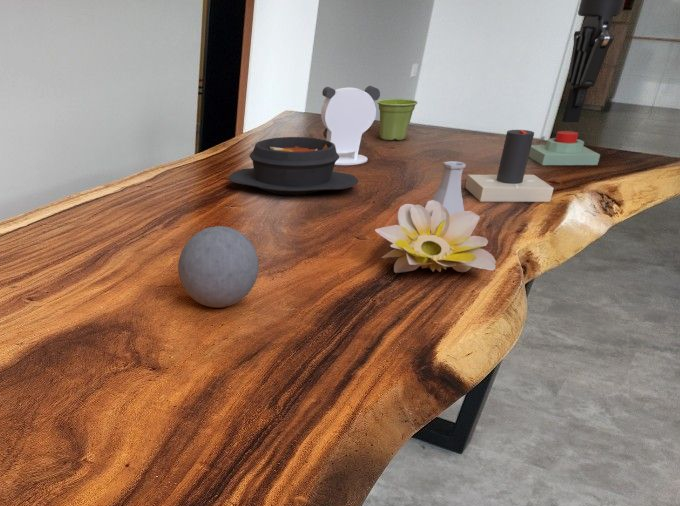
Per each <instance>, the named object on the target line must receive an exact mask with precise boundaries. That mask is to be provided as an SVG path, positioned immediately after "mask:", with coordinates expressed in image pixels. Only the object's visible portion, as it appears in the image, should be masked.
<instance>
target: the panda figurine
mask: <svg viewBox="0 0 680 506" xmlns="http://www.w3.org/2000/svg"><path fill="white" fill-rule="evenodd" d="M321 94H322V96H323V97H325V99H324V101H323V104H322V107H321V111H320V118H321V122H322V125H323V126H324V127H325V129H324V131H323V133H322V135H323V138H324V139H325V140H326V141H329V142H332V143H334V144H335V148H336V152H337V154H338V155H339V159H338V160H337V161H336V162H335V165H334V166H355V165H361V164H365V163H367V162H368V157H367V156H365V155H363V154H359V150H360V147H361V141H362V136H363V134H364V133H365V132H367V131H368V130H369V129H370V127H371V126H372V125H373V123H374V121H375V120H376V117H377V107H376V104H375V101H379V100H380V97H381V91H380V89H379V88H378V87H375V86H372V85H368V86H366V88H365V89H364V90H363V89H361V88H357V87H349V86H348V87H346V86H345V87H340V88H336V89H334V88H332V87H331V86H326V87H323V89H322V93H321Z"/></svg>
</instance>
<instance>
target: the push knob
mask: <svg viewBox="0 0 680 506" xmlns="http://www.w3.org/2000/svg"><path fill="white" fill-rule="evenodd" d="M578 137H579V132H577V131H571V130H559V131H557V132H556V135H555V138H556V139H555V142H561V143H576V141H577V139H578Z"/></svg>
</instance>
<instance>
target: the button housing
mask: <svg viewBox="0 0 680 506" xmlns="http://www.w3.org/2000/svg"><path fill="white" fill-rule="evenodd" d="M555 139H556V137H552V138H551V137H550V138H547V139H546V143H545V144H532V145H531V149H530V153H529V157H528V158H530V159H532V160H533V161H535V162H536V163H538V164H539V165H541V166H598V164H599V161H600V157H601V154H600V153H598V152H596V151H594V150H592V149H590V148H588V147H587V146H584V145H585V141H584V140H582V139H578V138H577V141H576V143H561V142H555Z"/></svg>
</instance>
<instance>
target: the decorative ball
mask: <svg viewBox="0 0 680 506" xmlns="http://www.w3.org/2000/svg"><path fill="white" fill-rule="evenodd" d="M258 257H259V256H258V253H257V251H256V248H255V246H254V244H253V243H252V241H250V239H249V238H248V237H247V236H246V235H245V234H244V233H243V232H241V231H240V230H237V229H236V228H233V227H229V226H224V225H215V226H209V227H206V228H203V229H201V230H199V231H198V232H196V233H195V234H194V235H192V236H191V237H190V238H189V239H188V240H187V241H186V243H185V244H184V245H183V247H182V250H181V252H180V255H179V258H178V264H177V265H178V266H177V270H178V272H177V273H178V278H179V282H180V283H181V286H182V288H183V290H184V291H185V292H186V294H187V295H188V296H189V297H190V298H191V299H193V301H195V302H196V303H198V304H200V305H203V306H205V307H209V308H216V309H217V308H219V309H220V308H227V307H230V306H233V305H235V304H237V303H239V302H240V301H242V300H243V299H244V298H245V297H247V296H248V294H249V293H250V292H251V291H252V289H253V287H254V286H255V284H256V282H257V279H258V276H259V275H258V274H259V268H260V267H259V264H260V263H259V258H258Z"/></svg>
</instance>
